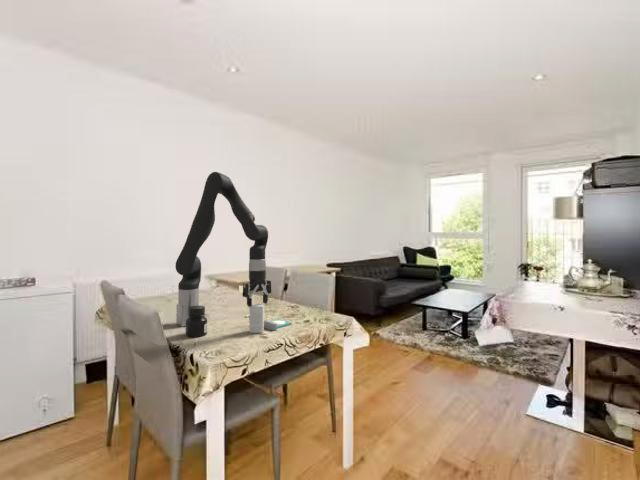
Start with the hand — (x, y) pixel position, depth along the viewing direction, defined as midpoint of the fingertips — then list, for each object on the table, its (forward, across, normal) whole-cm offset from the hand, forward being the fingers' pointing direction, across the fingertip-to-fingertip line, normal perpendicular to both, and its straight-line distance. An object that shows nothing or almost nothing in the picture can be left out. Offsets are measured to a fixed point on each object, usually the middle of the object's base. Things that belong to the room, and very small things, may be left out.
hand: (257, 304), depth 146 cm
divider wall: (+12, -7, -2) cm, 14 cm away
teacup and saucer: (+13, -12, -23) cm, 29 cm away
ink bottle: (+12, +21, -15) cm, 29 cm away
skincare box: (+12, 0, 0) cm, 12 cm away
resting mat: (+12, -14, -2) cm, 19 cm away
